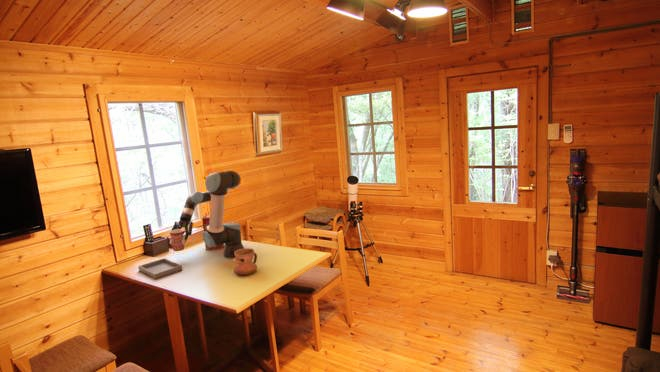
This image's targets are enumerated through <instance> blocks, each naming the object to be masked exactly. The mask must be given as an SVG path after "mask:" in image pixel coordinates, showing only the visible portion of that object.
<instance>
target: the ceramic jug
mask: <svg viewBox="0 0 660 372" xmlns="http://www.w3.org/2000/svg"><path fill="white" fill-rule="evenodd" d="M234 254H235V258H232V262H237V263H236V264H235V265H234V266H233V271H234V273H235V274H236V275H239V276H247V275H251V274H253V273H255V272H256V271H257V269H258V265H257V264H256V263H257V260H258V253H257V252H255V250H254V249H253V248H249V247H247V248H246V247H245V248H244V249H239V250H237V251H235V252H234Z"/></svg>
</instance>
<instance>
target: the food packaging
mask: <svg viewBox="0 0 660 372" xmlns="http://www.w3.org/2000/svg"><path fill="white" fill-rule="evenodd" d="M201 220H202V228H203V232H205V231H207V226H208V225H209V221H210V214H207V215H203V216H202V219H201ZM204 246H205V251H211V250H218V249H219V250H220V249H224V248H225V244H221V245H218V246H215V247H208V246H207V245H206V244H205V243H204Z"/></svg>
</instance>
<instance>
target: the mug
mask: <svg viewBox="0 0 660 372" xmlns="http://www.w3.org/2000/svg"><path fill="white" fill-rule="evenodd" d="M171 230H172V229H171ZM171 230H170V231H169V236H170V238H171V239H170V241H171V240H172V245H171V246H172V250H173V251H174V252H180V251H183V250H184V249H185V244H186V242H187V241H188V239H187V240H186V241H185V244H184V245H183V244H182V240H183V237H184V234H185V229H182V228H181V229H175V230H172V231H171Z"/></svg>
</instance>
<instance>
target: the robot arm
mask: <svg viewBox="0 0 660 372" xmlns="http://www.w3.org/2000/svg"><path fill="white" fill-rule="evenodd" d="M241 181H242V179H241V175H240V174H239V173H238V172H237V171H235V170H226V171H220V172H213V173H210V174H209V175H207V177H206V178H205V188H206V190H207V191H203V192H201V191H195V192H194V193H192V194H191V195H188V196H187V198H185V199H186V201H185V203H184V206H183V209H182V212H181V215H180V217H179V221H174V224H173V225H172V226H173V227H172V228H171V230H170V231H172V230H175V229H182V228H184V231H185V233H184V237H183V240H182V244H183V245H184V246H185V244H186V243H185V241H186V240H187V241H188V238H189V237H190V236H192V233H193V226H194V222H193V221H192V219H193V215H194V211H195V209H196V207H197V206H198V205H199V204H204V203H208V202H210V204H209V205H210V207H209V209H210V210H209V215H210V221H209V225H208V226H207V231H205V232H204V231H203V232H202V240H203V242H204V245H205V244H206V245H207V246H208V247H215V246H218V245H221V244H224V248H223V257H224V258H226V259H236V258H235V254H234V252H235V251H237V250H239V249H244V247H245V246H244V245H243V242H242V233H241V231H242V230H241V225H240V224H239V223H236V222H224V223H223V221H224V211H225V210H224V209H225V208H224V207H225V196H226V195H227V194H228V191H230V190H233V189H236V188H237V187H238V186H240V185H241ZM187 241H186V242H187ZM169 244H170V245H171V246H172V240H171V237H170V241H169Z"/></svg>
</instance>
